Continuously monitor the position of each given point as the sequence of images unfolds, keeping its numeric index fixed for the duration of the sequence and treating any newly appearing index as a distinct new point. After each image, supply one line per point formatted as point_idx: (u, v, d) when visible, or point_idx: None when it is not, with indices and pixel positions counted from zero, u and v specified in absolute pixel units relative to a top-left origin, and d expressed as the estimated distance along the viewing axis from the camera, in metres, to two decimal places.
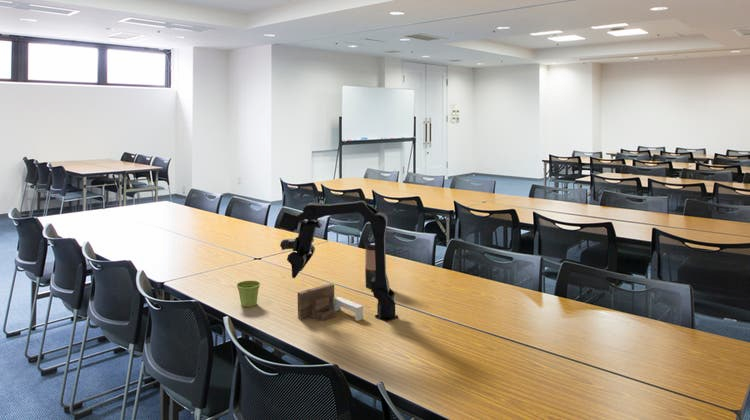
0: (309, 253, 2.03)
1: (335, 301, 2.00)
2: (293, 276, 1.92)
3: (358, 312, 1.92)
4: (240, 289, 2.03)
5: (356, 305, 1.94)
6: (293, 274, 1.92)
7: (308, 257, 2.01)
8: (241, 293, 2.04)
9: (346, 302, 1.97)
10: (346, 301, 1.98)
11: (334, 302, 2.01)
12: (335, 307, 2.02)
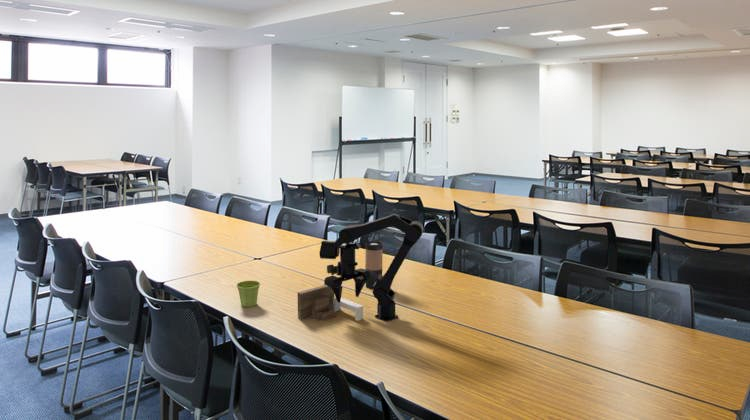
0: None
1: (335, 301, 2.00)
2: (337, 300, 1.94)
3: (358, 312, 1.92)
4: (240, 289, 2.03)
5: (356, 305, 1.94)
6: (337, 298, 1.94)
7: (361, 282, 1.98)
8: (241, 293, 2.04)
9: (346, 302, 1.97)
10: (346, 301, 1.98)
11: (334, 302, 2.01)
12: (335, 307, 2.02)
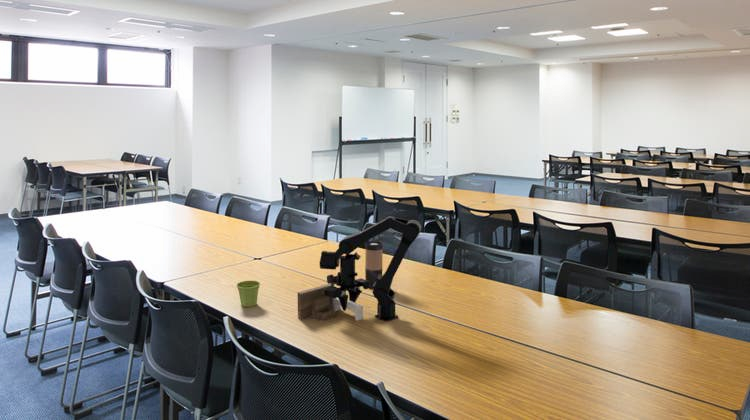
0: (359, 290, 1.99)
1: (335, 301, 2.00)
2: (343, 309, 1.97)
3: (358, 312, 1.92)
4: (240, 289, 2.03)
5: (356, 305, 1.94)
6: (342, 307, 1.96)
7: (355, 294, 1.97)
8: (241, 293, 2.04)
9: None
10: None
11: (334, 302, 2.01)
12: (335, 307, 2.02)
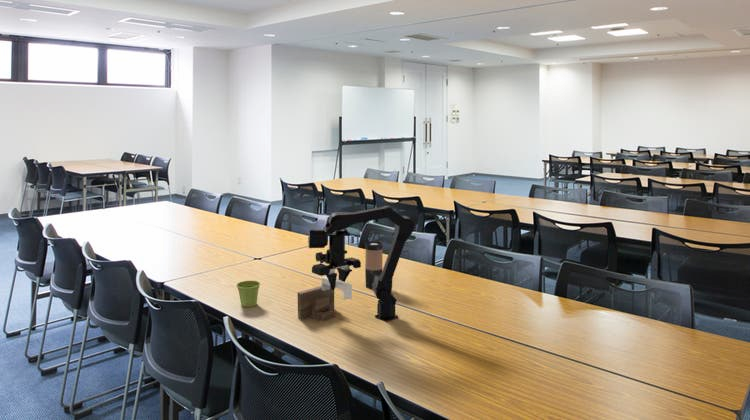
0: (349, 269, 1.91)
1: (324, 279, 1.93)
2: (332, 288, 1.89)
3: (347, 291, 1.85)
4: (240, 289, 2.03)
5: (345, 284, 1.86)
6: (331, 286, 1.89)
7: (344, 273, 1.89)
8: (241, 293, 2.04)
9: None
10: None
11: (323, 281, 1.94)
12: (324, 286, 1.94)
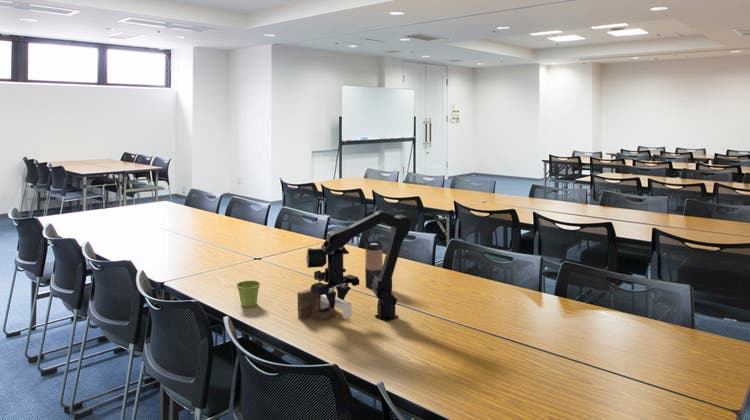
0: (348, 287, 1.91)
1: (323, 298, 1.93)
2: (331, 306, 1.89)
3: (346, 309, 1.85)
4: (240, 289, 2.03)
5: (344, 302, 1.86)
6: (330, 304, 1.89)
7: (343, 291, 1.89)
8: (241, 293, 2.04)
9: None
10: None
11: (322, 299, 1.93)
12: (323, 304, 1.94)
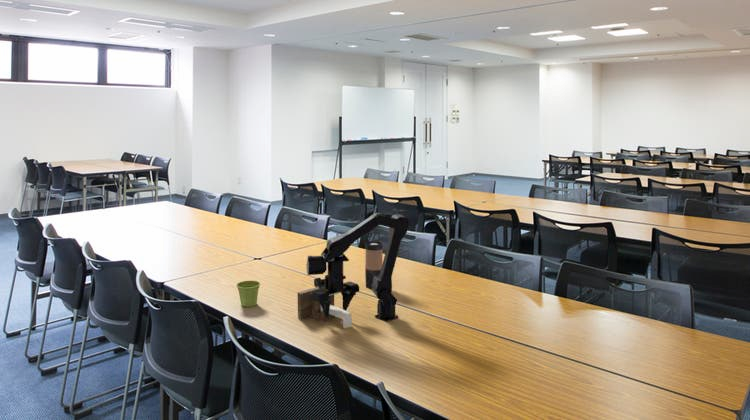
0: None
1: None
2: (325, 315, 1.87)
3: (346, 319, 1.85)
4: (240, 289, 2.03)
5: (344, 312, 1.87)
6: (325, 313, 1.87)
7: (348, 296, 1.91)
8: (241, 293, 2.04)
9: (334, 309, 1.90)
10: (334, 308, 1.91)
11: (322, 309, 1.94)
12: None
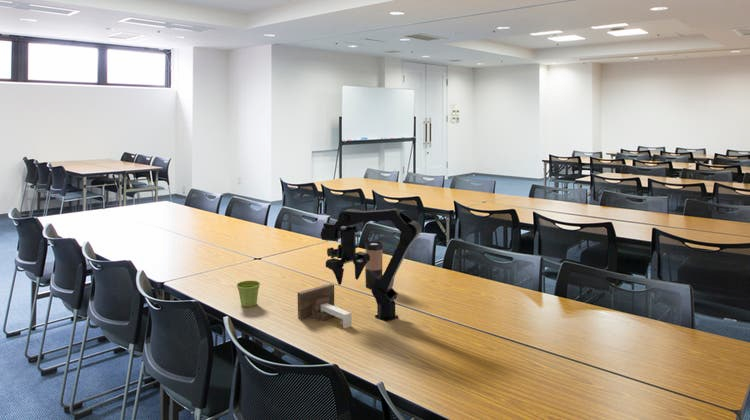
0: None
1: (323, 307, 1.93)
2: (338, 283, 1.96)
3: (346, 319, 1.85)
4: (240, 289, 2.03)
5: (344, 312, 1.87)
6: (338, 281, 1.96)
7: (361, 265, 2.01)
8: (241, 293, 2.04)
9: (334, 309, 1.90)
10: (334, 308, 1.91)
11: (322, 309, 1.94)
12: None
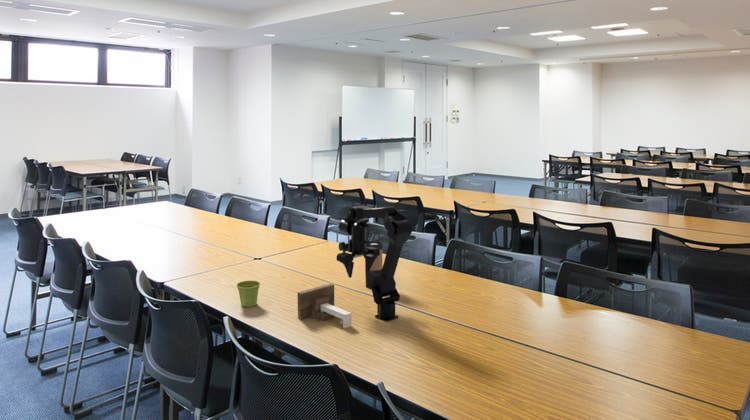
0: None
1: (323, 307, 1.93)
2: (349, 276, 2.05)
3: (346, 319, 1.85)
4: (240, 289, 2.03)
5: (344, 312, 1.87)
6: (348, 274, 2.05)
7: (371, 259, 2.09)
8: (241, 293, 2.04)
9: (334, 309, 1.90)
10: (334, 308, 1.91)
11: (322, 309, 1.94)
12: None
